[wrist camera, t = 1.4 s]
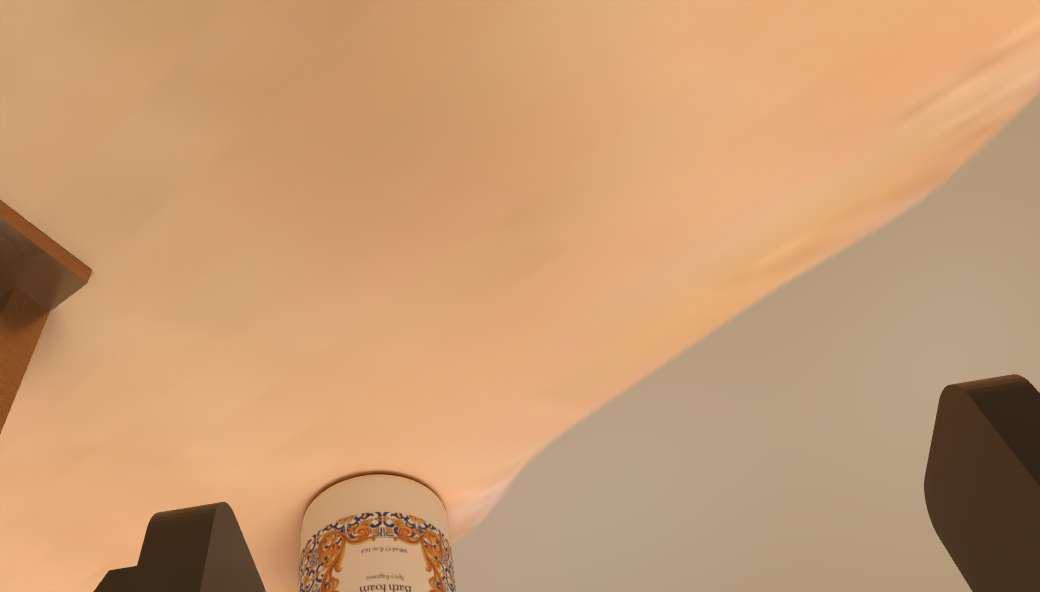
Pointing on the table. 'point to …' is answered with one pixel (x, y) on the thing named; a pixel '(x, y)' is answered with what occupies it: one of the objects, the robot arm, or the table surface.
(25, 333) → the rail
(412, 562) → the bath foam
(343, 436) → the table surface
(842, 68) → the table surface
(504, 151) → the table surface
